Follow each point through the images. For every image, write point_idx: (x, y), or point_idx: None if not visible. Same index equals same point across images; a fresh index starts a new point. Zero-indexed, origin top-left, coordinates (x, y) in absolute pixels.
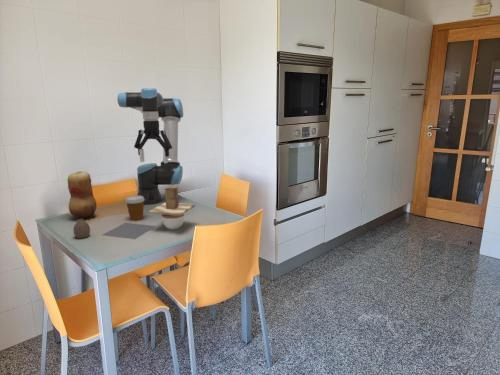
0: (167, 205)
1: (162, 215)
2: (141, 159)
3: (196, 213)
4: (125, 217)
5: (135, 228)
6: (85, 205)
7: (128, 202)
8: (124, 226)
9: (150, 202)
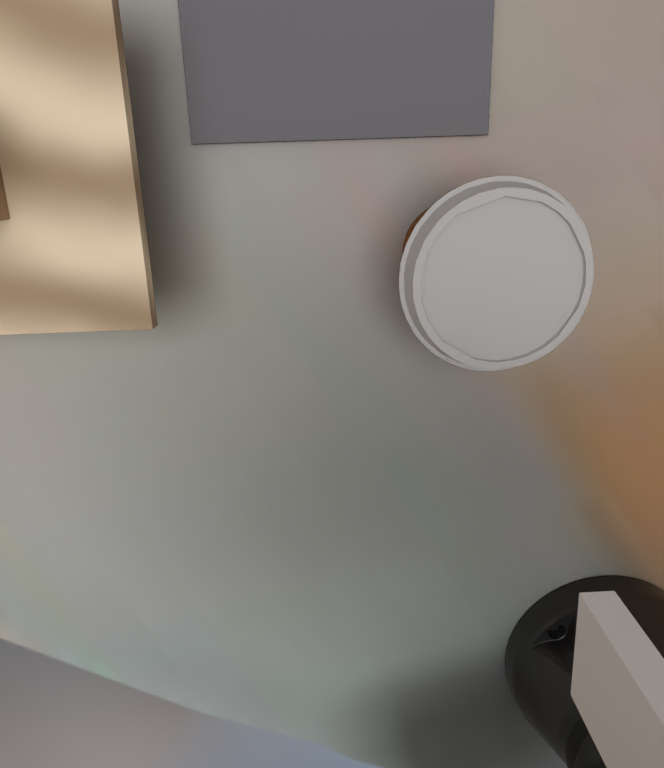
0: None
1: None
2: (607, 642)
3: (94, 515)
4: None
5: (318, 28)
6: None
7: (514, 176)
8: (438, 44)
9: (552, 604)
